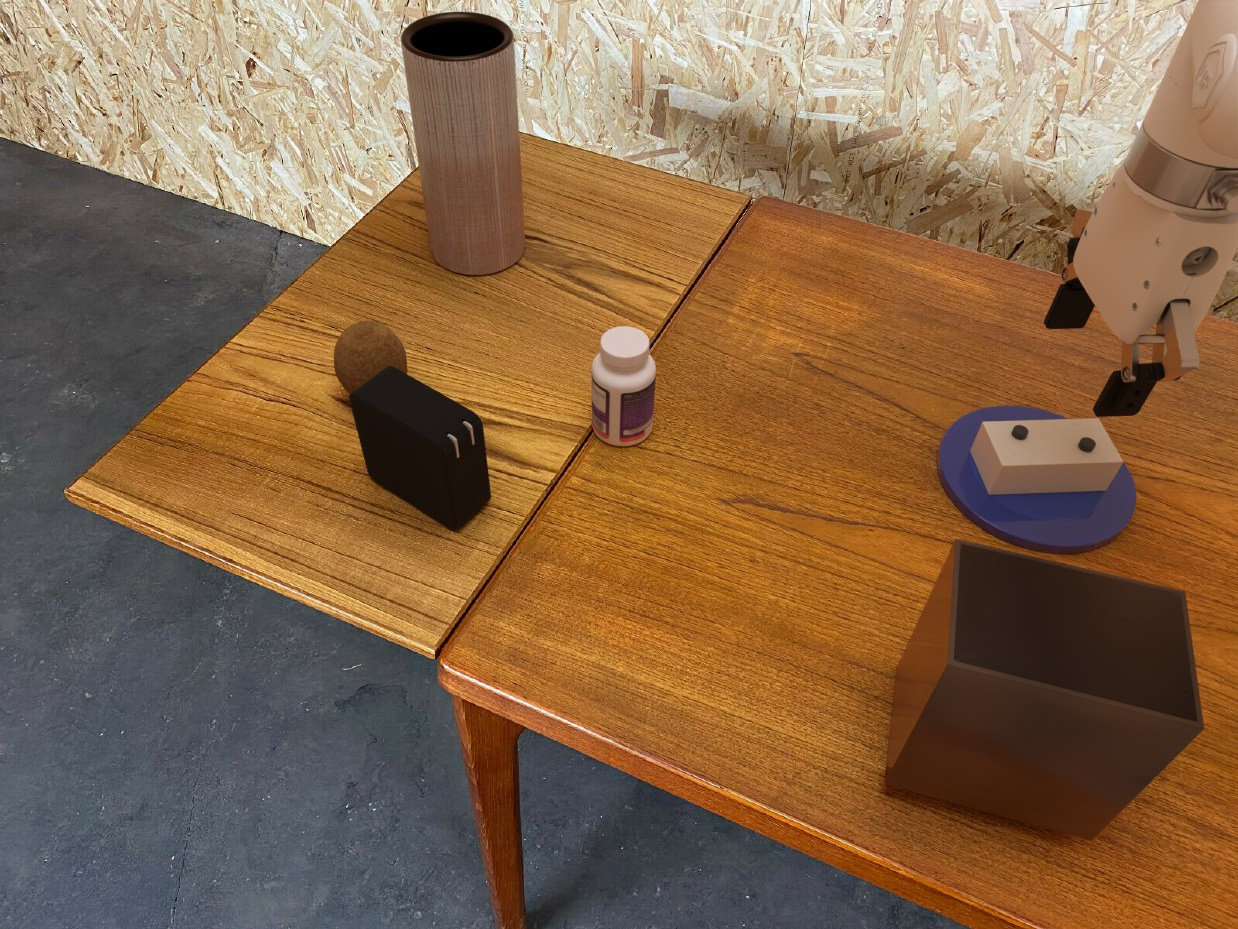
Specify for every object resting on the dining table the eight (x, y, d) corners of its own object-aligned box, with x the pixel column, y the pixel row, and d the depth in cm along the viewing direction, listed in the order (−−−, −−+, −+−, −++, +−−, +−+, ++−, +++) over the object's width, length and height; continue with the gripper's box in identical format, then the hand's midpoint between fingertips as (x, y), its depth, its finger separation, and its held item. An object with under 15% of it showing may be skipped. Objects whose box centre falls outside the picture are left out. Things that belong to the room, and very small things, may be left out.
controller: (1082, 447, 82) (1101, 412, 79) (1106, 491, 79) (1127, 456, 76) (969, 451, 82) (984, 416, 79) (988, 495, 78) (1004, 460, 75)
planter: (533, 226, 105) (523, 14, 88) (516, 281, 98) (501, 62, 81) (443, 218, 105) (416, 6, 89) (420, 272, 99) (386, 53, 82)
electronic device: (404, 449, 82) (385, 361, 74) (492, 503, 78) (482, 415, 70) (368, 478, 79) (345, 390, 72) (457, 535, 75) (443, 448, 68)
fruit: (329, 396, 86) (309, 326, 80) (385, 363, 89) (371, 294, 83) (370, 431, 83) (354, 361, 77) (427, 396, 86) (415, 327, 80)
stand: (1086, 716, 66) (1185, 591, 55) (1091, 841, 60) (1204, 729, 49) (896, 668, 68) (955, 538, 57) (884, 784, 62) (947, 664, 51)
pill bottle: (658, 410, 86) (664, 325, 78) (645, 453, 82) (651, 368, 75) (599, 400, 86) (600, 315, 79) (584, 442, 83) (584, 356, 76)
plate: (1125, 434, 85) (1129, 426, 84) (1139, 574, 74) (1144, 567, 74) (942, 397, 88) (945, 389, 87) (930, 527, 77) (933, 519, 76)
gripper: (1328, 244, 54) (1187, 450, 67) (1187, 95, 65) (1090, 295, 78) (1200, 247, 53) (1083, 453, 66) (1081, 97, 65) (1000, 297, 78)
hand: (1087, 368), depth 72 cm, fingers open, 9 cm apart
